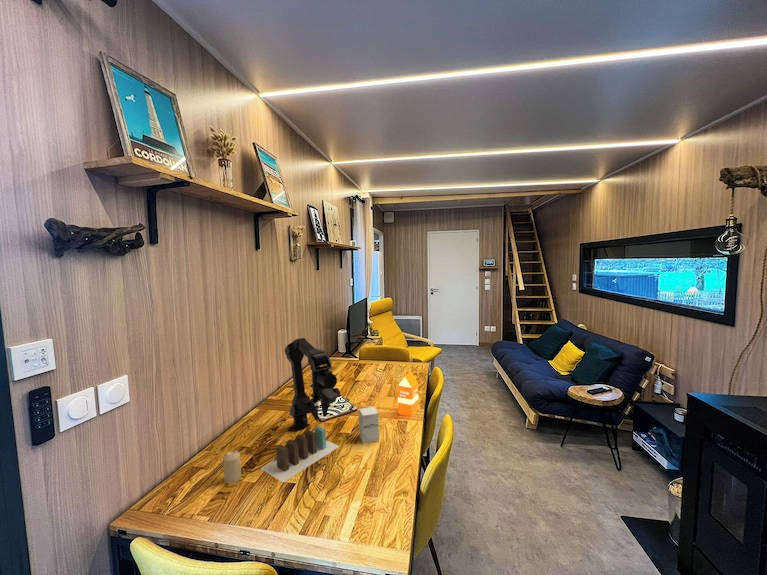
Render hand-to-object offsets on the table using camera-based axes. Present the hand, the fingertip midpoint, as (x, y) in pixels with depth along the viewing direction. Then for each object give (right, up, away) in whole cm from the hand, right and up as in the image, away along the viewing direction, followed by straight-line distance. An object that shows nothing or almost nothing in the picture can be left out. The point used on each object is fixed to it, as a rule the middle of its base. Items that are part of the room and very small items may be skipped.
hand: (320, 418), depth 136 cm
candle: (-28, -14, -20) cm, 37 cm away
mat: (-6, -13, -7) cm, 16 cm away
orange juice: (+39, -9, +31) cm, 51 cm away
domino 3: (-6, -12, -8) cm, 15 cm away
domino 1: (-11, -13, -15) cm, 22 cm away
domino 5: (0, -12, -1) cm, 12 cm away
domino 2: (-9, -13, -11) cm, 19 cm away
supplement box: (+20, -11, +5) cm, 24 cm away
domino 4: (-3, -12, -4) cm, 13 cm away
